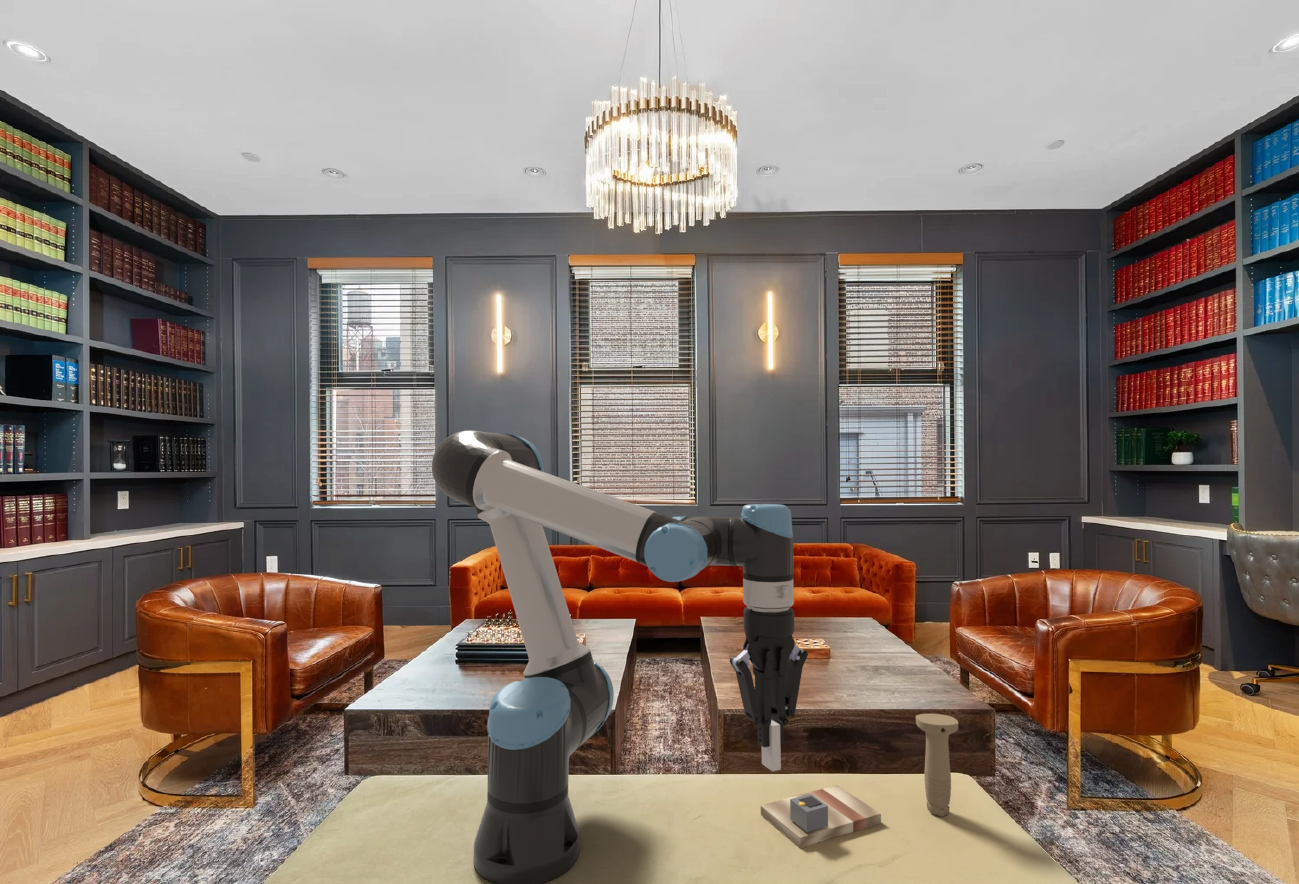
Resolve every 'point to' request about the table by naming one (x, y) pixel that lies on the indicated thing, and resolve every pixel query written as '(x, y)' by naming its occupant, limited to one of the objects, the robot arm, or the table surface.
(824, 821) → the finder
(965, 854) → the table surface
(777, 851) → the table surface
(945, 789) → the handle
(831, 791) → the plank
